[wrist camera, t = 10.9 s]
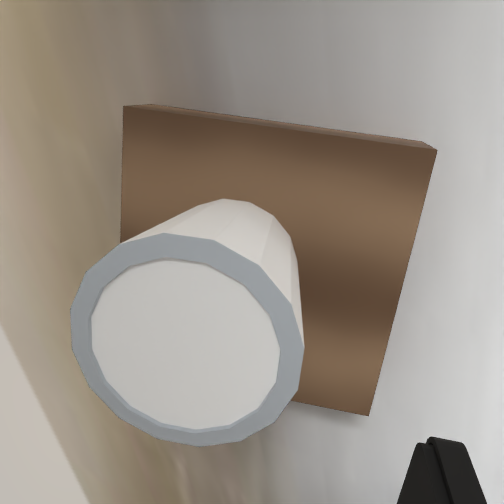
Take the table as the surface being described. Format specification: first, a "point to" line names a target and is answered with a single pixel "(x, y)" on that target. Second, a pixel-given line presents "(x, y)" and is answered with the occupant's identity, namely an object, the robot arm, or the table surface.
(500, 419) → the table surface
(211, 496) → the table surface
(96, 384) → the white cup
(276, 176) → the walnut plinth
